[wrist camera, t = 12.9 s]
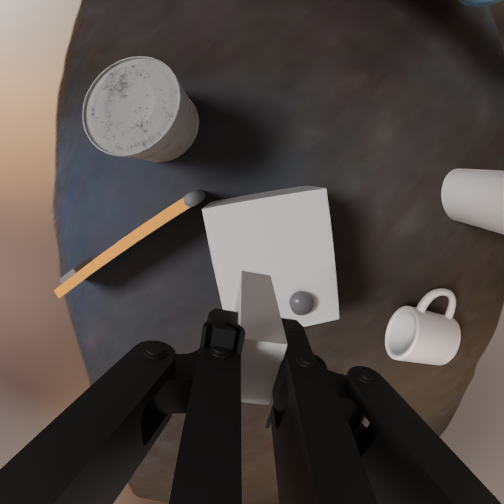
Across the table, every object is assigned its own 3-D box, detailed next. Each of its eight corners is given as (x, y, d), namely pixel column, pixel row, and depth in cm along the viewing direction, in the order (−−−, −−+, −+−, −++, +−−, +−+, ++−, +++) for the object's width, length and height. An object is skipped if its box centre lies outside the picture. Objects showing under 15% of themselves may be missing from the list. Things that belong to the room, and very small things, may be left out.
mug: (421, 350, 44) (444, 374, 36) (377, 342, 43) (399, 370, 35) (451, 287, 41) (480, 304, 34) (409, 272, 40) (438, 291, 33)
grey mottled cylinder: (206, 94, 33) (192, 58, 22) (191, 167, 36) (168, 162, 24) (135, 88, 33) (96, 56, 21) (120, 157, 35) (73, 152, 23)
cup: (457, 231, 39) (530, 257, 24) (432, 193, 38) (511, 206, 22) (482, 196, 38) (554, 210, 22) (459, 157, 36) (535, 159, 21)
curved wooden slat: (199, 183, 36) (189, 185, 29) (207, 197, 36) (200, 202, 29) (76, 269, 38) (49, 286, 31) (83, 281, 38) (58, 300, 31)
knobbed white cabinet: (210, 201, 37) (200, 210, 27) (306, 185, 37) (328, 188, 27) (233, 311, 40) (231, 350, 31) (320, 295, 40) (341, 329, 31)
